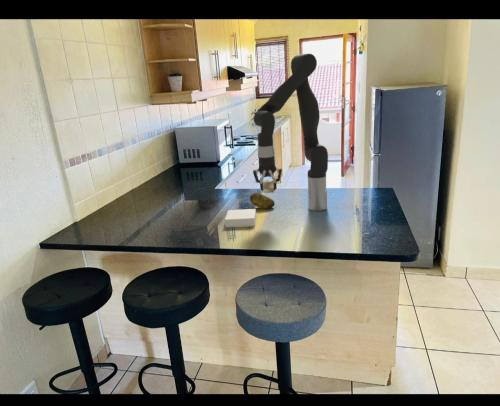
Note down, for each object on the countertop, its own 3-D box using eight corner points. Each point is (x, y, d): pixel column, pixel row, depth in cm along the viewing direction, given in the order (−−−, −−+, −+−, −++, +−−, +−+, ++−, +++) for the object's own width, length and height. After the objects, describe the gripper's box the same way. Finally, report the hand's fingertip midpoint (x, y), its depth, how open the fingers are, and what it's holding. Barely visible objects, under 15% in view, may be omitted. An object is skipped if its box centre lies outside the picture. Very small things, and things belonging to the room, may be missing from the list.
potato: (267, 212, 195) (266, 197, 193) (248, 208, 203) (246, 194, 201) (276, 207, 202) (275, 192, 199) (257, 203, 209) (256, 190, 207)
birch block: (274, 189, 181) (273, 179, 180) (274, 192, 177) (273, 182, 175) (263, 190, 182) (263, 180, 180) (263, 193, 177) (262, 182, 175)
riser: (256, 216, 191) (255, 208, 189) (254, 226, 178) (254, 218, 177) (228, 217, 192) (228, 210, 191) (225, 227, 180) (224, 219, 178)
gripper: (281, 152, 177) (283, 187, 182) (251, 154, 178) (254, 188, 183) (282, 155, 169) (283, 191, 175) (250, 157, 171) (253, 193, 176)
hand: (268, 190), depth 179 cm, fingers closed on birch block, 5 cm apart
